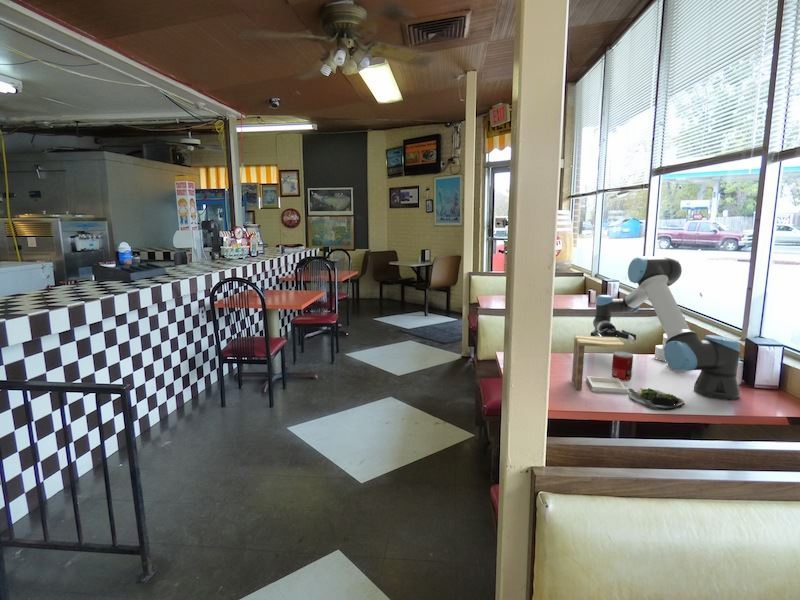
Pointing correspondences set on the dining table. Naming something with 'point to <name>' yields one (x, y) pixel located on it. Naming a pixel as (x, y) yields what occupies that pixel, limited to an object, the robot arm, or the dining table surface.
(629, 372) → the canned food
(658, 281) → the robot arm
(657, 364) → the dining table surface
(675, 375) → the dining table surface
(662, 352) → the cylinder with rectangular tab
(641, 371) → the dining table surface
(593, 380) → the shallow square white tray
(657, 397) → the salad plate
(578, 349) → the wooden l-shaped stand
